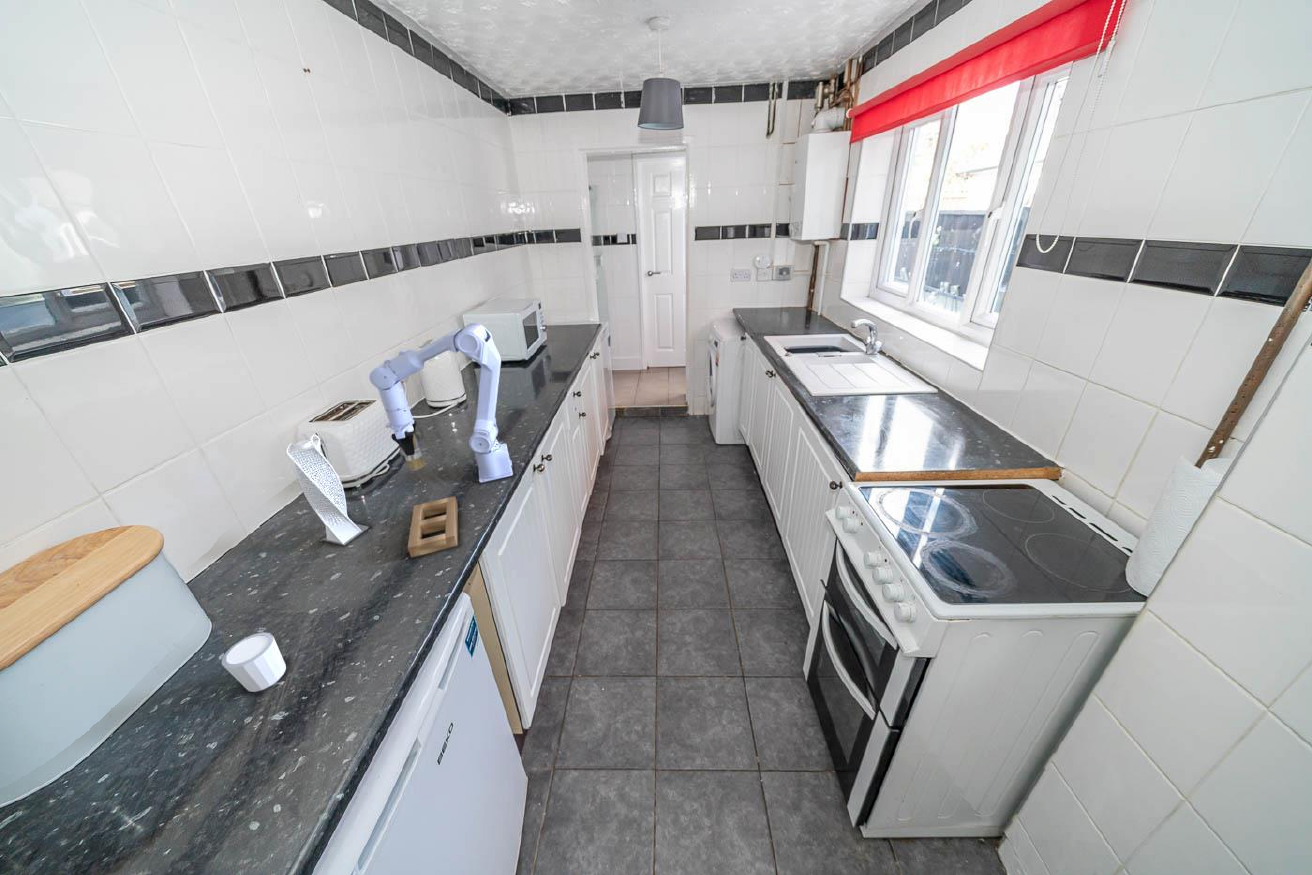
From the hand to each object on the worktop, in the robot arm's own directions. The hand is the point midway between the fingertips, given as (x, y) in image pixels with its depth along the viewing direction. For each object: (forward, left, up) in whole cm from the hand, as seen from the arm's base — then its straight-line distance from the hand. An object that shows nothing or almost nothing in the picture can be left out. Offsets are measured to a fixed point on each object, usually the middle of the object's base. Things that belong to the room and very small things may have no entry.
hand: (411, 450), depth 129 cm
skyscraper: (+16, +20, -10) cm, 28 cm away
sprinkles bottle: (0, 0, -6) cm, 6 cm away
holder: (-5, +27, -10) cm, 29 cm away
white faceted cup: (+21, +59, -10) cm, 64 cm away
